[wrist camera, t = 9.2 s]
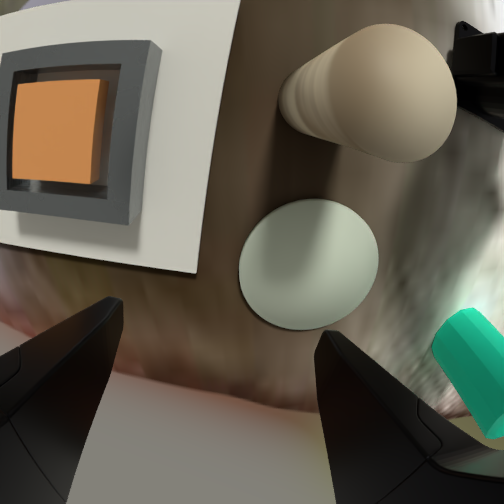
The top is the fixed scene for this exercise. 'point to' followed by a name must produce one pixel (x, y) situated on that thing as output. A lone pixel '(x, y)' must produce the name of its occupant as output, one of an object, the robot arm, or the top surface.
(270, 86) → the top surface
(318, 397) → the robot arm
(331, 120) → the tan cylinder
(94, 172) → the button
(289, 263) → the mat
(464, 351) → the candle
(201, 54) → the white flat square slab
